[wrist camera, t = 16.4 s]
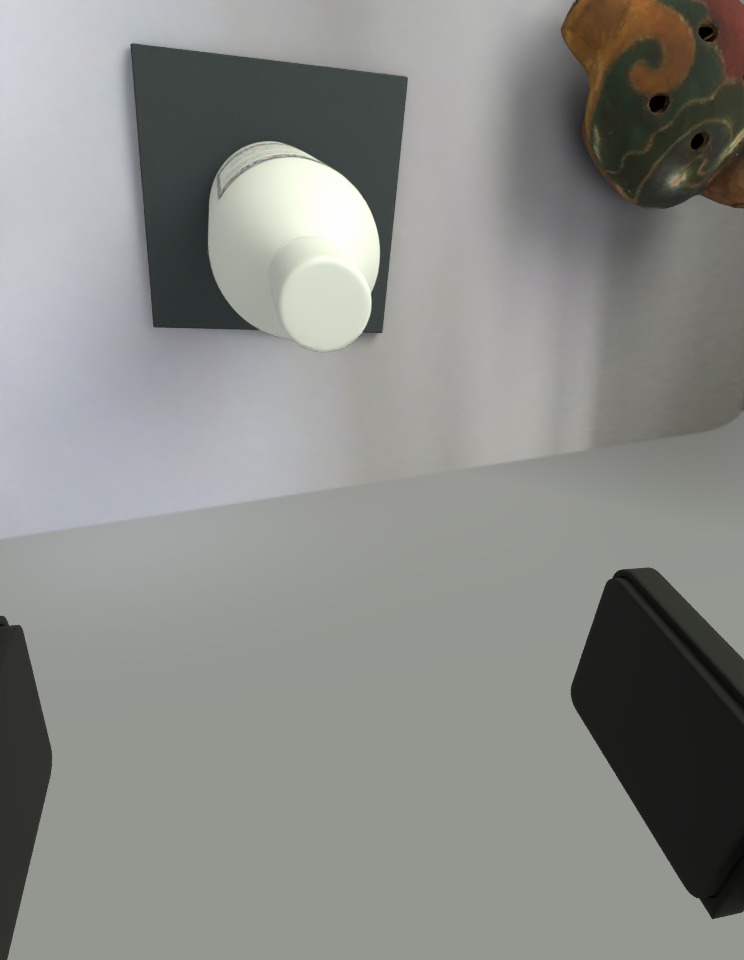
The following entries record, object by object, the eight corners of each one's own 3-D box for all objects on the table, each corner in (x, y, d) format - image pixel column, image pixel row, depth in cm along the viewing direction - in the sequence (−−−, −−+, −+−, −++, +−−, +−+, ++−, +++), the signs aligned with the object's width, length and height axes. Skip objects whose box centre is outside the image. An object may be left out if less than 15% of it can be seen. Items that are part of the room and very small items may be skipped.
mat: (380, 330, 41) (382, 333, 41) (154, 324, 38) (153, 327, 38) (405, 77, 34) (408, 76, 34) (131, 44, 31) (130, 43, 31)
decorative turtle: (665, 245, 42) (738, 274, 36) (489, 107, 37) (537, 110, 30) (776, 101, 39) (882, 103, 32) (600, -76, 33) (683, -120, 26)
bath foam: (313, 287, 38) (391, 433, 22) (197, 252, 36) (184, 385, 19) (349, 166, 35) (471, 227, 19) (225, 120, 33) (237, 141, 16)
